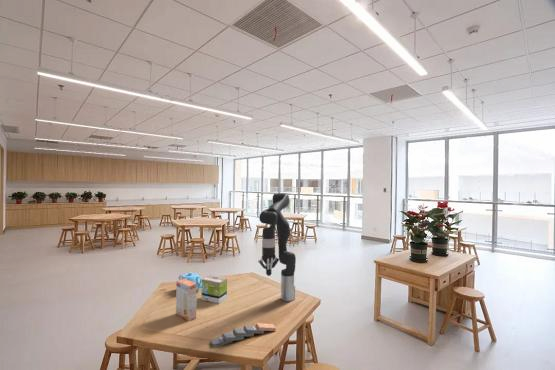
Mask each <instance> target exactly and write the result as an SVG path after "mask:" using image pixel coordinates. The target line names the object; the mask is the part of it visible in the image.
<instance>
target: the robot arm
mask: <svg viewBox="0 0 555 370" xmlns="http://www.w3.org/2000/svg"><path fill="white" fill-rule="evenodd" d="M289 204H290V196H289V194H288V193H280V192H279V193H274V194H273V195H272V204H271V205H270V206H269V207H268V208H266V209H264V210H262V211H261V212H260V214H259V221H260V223H261V224H265V225H267V224H268V225H270V226H268V227H263V229H262V241H261V244H262V245H261V246H262V247H261V248H262V250H261V254H262V255H261V258H260V259H259V260H258V263H259V264H260V266H261V267H262V268H263V269H264V270H265V274H266V275H267V276H268V277H270V276H271V275H272V269H275V267H276V266H277V264H278V262H279V263H280V264H283V265H285V268H284V269H282V270H281V272H280V299H281V300H282V301H283V302H292V301H294V300H296V285H295V271H296V262H297V261H296V260H297V259H296V254H295V253H294V252H291V251H288V247H287V243H288V240H289V239H290V235H291V228H290V223H289V222H288V219H287V218H285V217H284V215H283V213H282V211H283V210H284V209H286V208H287V207H288V206H289ZM275 231H276V232H275ZM275 233H276V234H275ZM275 235H276V236H277V242H278V257H277V256H276V236H275Z"/></svg>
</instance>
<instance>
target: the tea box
mask: <svg viewBox="0 0 555 370" xmlns="http://www.w3.org/2000/svg"><path fill="white" fill-rule="evenodd" d="M201 285H202V288H201V300H202V301H207V302H211V303H214V304H221V303H222V302H223V301H225V300H227V298H228V278H227V277H222V276H218V275H217V276H215V275H208V276H206V277H204V278H202V282H201Z"/></svg>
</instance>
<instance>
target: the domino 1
mask: <svg viewBox="0 0 555 370" xmlns="http://www.w3.org/2000/svg"><path fill="white" fill-rule="evenodd" d="M210 343H211V344H210V345H211V346H212V348H213V347H214V348H216V347H215V346H217V347H220V346H224V345H228V344H231V343H234V341H225V339H224V338H223V337H222V336H219V337H215V338H212V339H210Z"/></svg>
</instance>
